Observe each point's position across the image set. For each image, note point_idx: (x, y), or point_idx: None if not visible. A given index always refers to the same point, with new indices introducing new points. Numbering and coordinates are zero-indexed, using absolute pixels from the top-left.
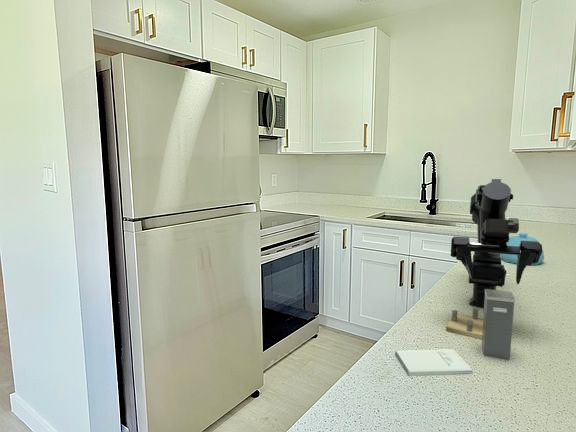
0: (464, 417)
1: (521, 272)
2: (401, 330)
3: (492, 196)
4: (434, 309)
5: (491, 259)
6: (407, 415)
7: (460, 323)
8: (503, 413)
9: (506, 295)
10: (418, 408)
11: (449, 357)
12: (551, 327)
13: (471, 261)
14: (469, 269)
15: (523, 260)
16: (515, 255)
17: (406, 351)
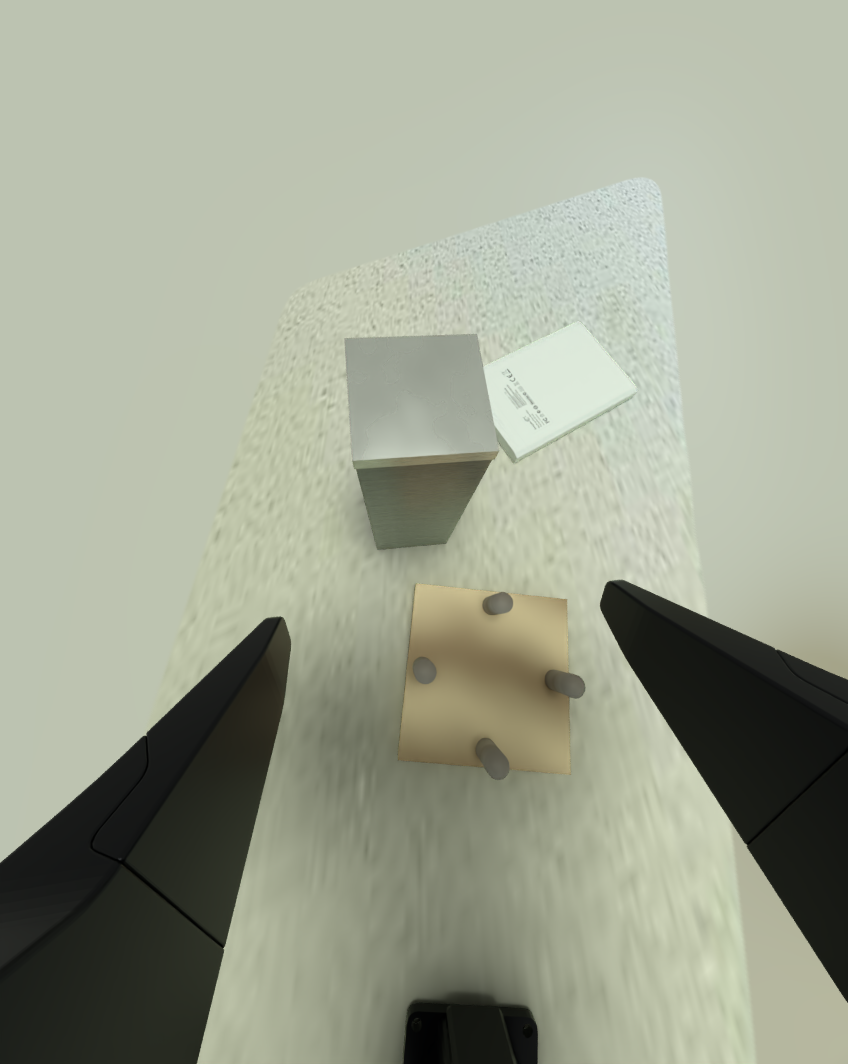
0: (455, 255)
1: (207, 680)
2: (676, 537)
3: None
4: (654, 818)
5: None
6: (537, 232)
7: (529, 659)
8: (395, 284)
9: (381, 384)
10: (526, 251)
11: (515, 407)
12: None
13: (771, 675)
14: (692, 613)
15: (35, 882)
16: None
17: (614, 391)
